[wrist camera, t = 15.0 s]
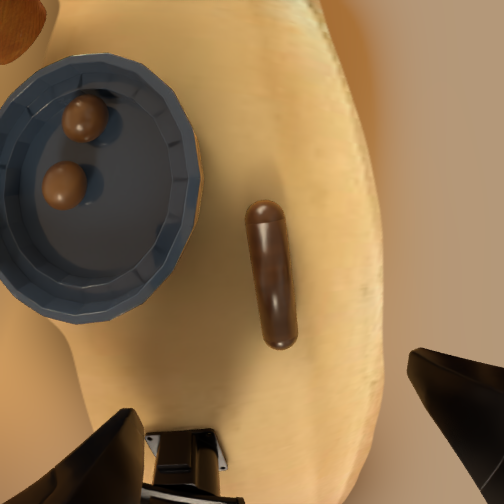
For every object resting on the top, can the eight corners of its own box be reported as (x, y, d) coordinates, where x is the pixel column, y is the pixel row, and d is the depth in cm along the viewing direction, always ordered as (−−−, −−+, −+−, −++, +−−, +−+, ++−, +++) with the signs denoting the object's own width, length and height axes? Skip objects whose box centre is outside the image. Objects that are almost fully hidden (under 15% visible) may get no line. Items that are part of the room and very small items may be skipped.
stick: (306, 344, 20) (283, 361, 18) (281, 335, 21) (257, 350, 20) (290, 196, 17) (262, 202, 16) (262, 198, 19) (233, 204, 18)
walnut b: (73, 95, 14) (113, 106, 16) (56, 139, 15) (97, 149, 16) (72, 83, 12) (118, 96, 14) (52, 133, 12) (100, 145, 14)
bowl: (221, 278, 19) (223, 304, 15) (35, 307, 18) (5, 330, 14) (187, 55, 16) (180, 23, 12) (5, 118, 15) (-30, 110, 11)
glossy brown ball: (56, 148, 15) (83, 175, 17) (27, 187, 14) (57, 211, 16) (73, 154, 13) (104, 184, 16) (40, 198, 12) (74, 225, 15)
